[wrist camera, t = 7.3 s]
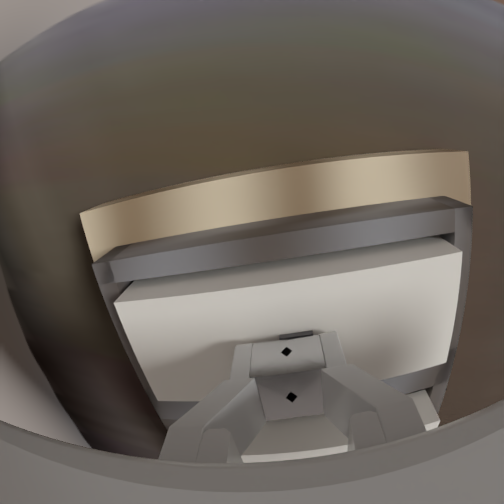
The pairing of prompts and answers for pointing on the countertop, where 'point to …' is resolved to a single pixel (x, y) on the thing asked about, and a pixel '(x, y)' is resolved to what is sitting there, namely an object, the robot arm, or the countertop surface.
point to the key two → (315, 435)
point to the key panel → (285, 229)
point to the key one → (296, 312)
